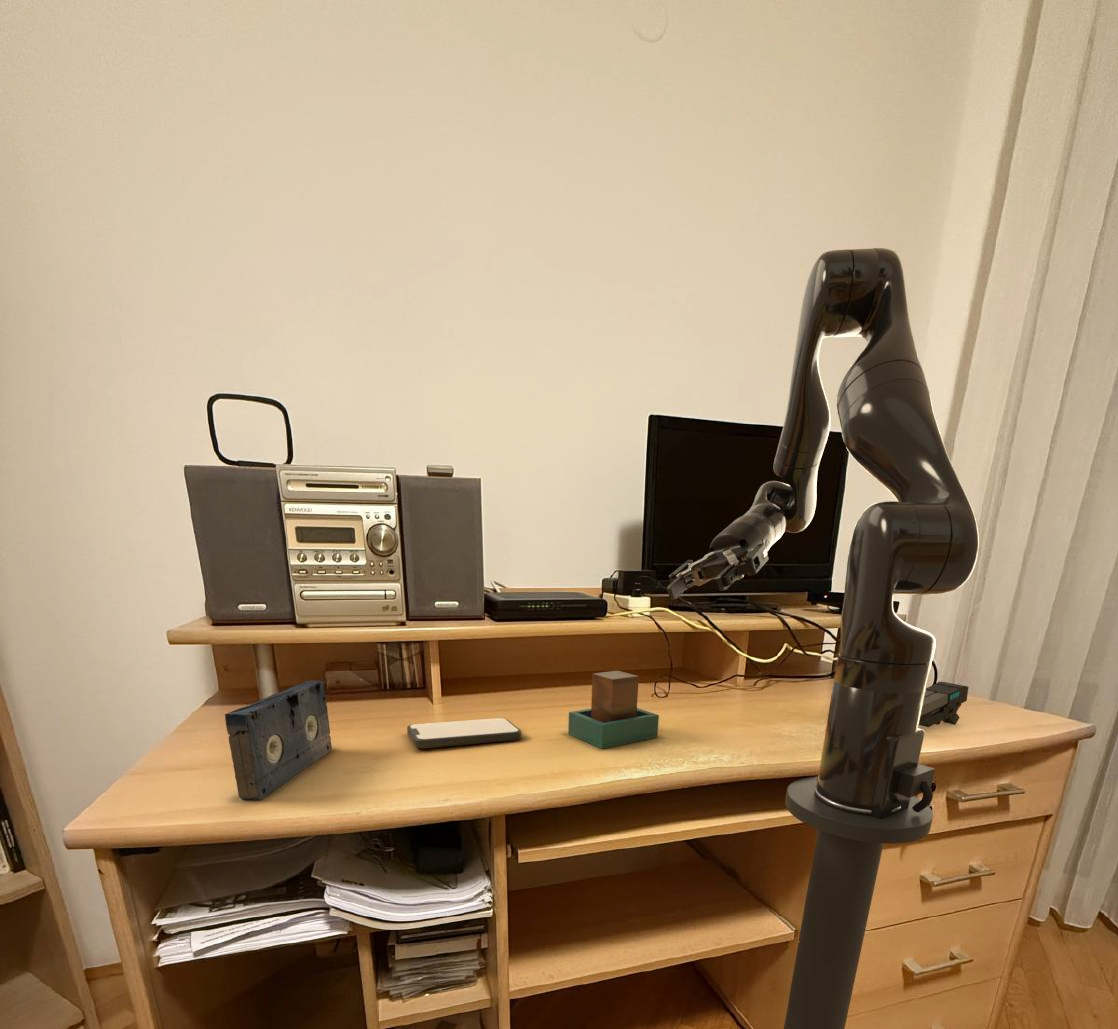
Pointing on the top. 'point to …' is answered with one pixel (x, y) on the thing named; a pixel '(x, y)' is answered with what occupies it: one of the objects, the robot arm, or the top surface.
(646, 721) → the open box
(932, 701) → the gun
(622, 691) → the brown block
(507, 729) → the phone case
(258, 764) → the vhs cassette tape
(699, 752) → the top surface
